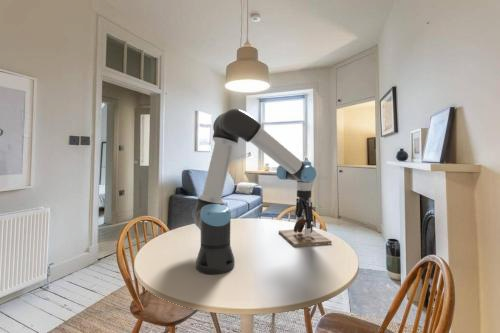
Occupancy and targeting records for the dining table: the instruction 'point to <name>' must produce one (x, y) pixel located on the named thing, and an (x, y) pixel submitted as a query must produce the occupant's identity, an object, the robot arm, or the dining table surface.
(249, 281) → the dining table surface
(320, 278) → the dining table surface
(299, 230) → the brown arched figurine
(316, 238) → the walnut board
